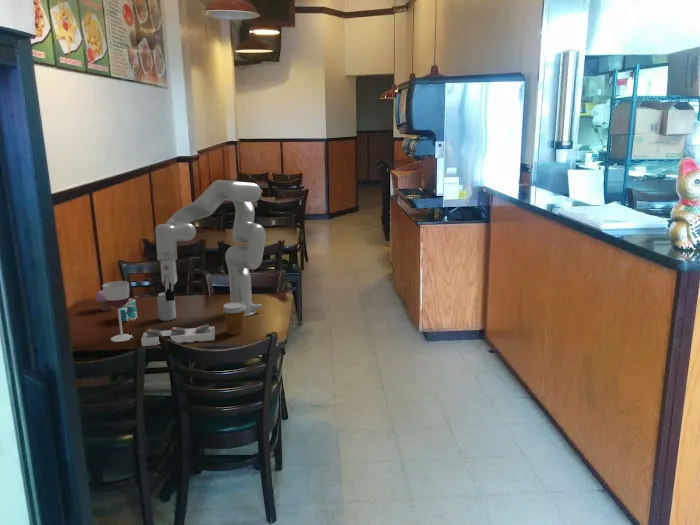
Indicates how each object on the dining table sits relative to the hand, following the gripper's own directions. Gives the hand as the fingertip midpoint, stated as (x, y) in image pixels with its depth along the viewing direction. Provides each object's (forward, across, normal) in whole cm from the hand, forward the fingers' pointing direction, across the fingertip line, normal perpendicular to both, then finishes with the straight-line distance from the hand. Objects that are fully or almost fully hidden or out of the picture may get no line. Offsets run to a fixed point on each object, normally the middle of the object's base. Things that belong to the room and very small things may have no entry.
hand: (170, 300), depth 230 cm
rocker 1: (+12, -3, +7) cm, 14 cm away
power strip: (+16, -2, -3) cm, 17 cm away
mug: (+16, +29, +23) cm, 41 cm away
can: (+16, +26, +5) cm, 31 cm away
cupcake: (+16, +46, +36) cm, 61 cm away
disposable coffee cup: (+16, +2, -25) cm, 30 cm away
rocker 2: (+12, -3, -12) cm, 17 cm away
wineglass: (+17, +6, +21) cm, 27 cm away
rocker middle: (+12, -3, -3) cm, 12 cm away
